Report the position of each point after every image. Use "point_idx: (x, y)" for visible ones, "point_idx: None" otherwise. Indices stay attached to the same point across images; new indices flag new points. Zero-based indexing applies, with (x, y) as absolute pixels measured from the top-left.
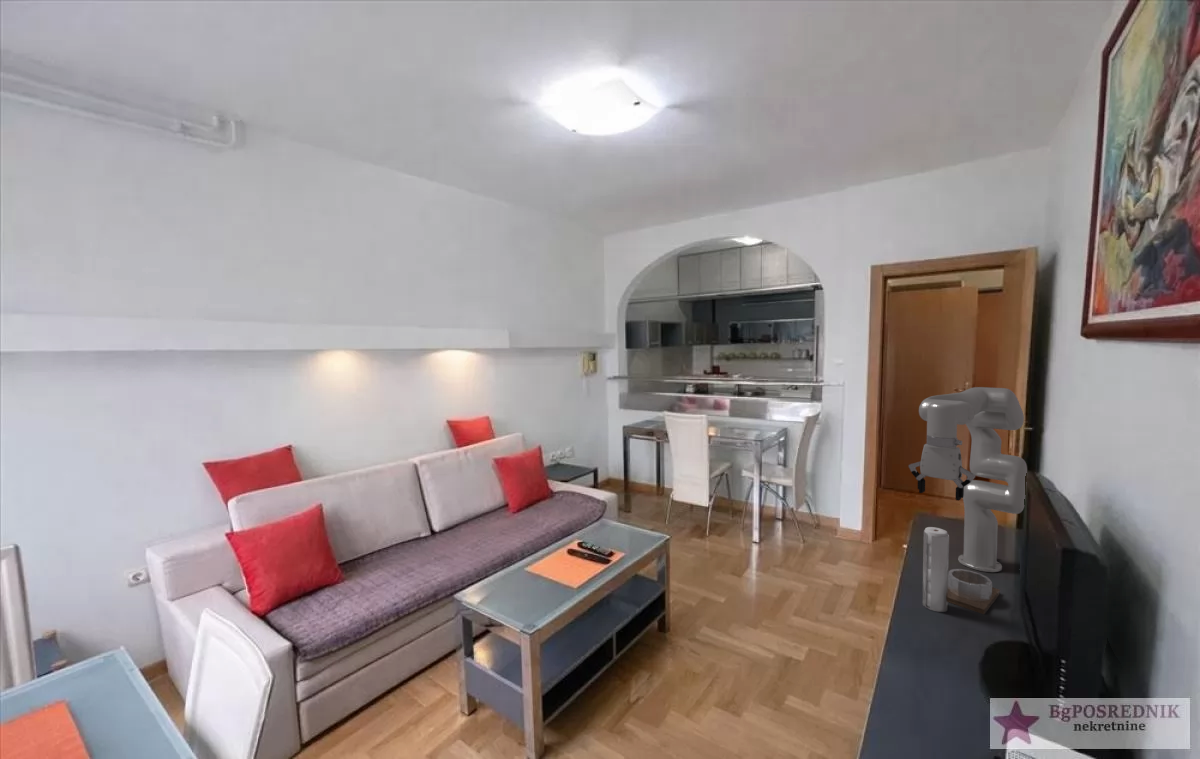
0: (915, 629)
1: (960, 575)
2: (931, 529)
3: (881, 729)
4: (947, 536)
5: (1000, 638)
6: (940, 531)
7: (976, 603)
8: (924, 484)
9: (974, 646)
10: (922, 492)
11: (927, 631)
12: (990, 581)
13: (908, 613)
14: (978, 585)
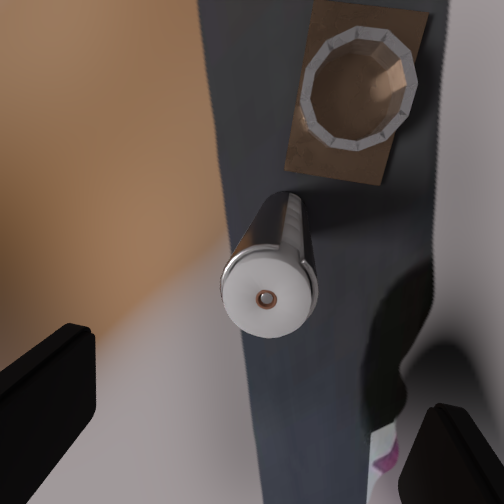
0: None
1: (330, 54)
2: (247, 298)
3: None
4: (313, 308)
5: (399, 269)
6: (284, 302)
7: (364, 161)
8: (24, 416)
9: (355, 323)
10: (94, 397)
11: None
12: (413, 81)
13: None
14: (379, 141)
